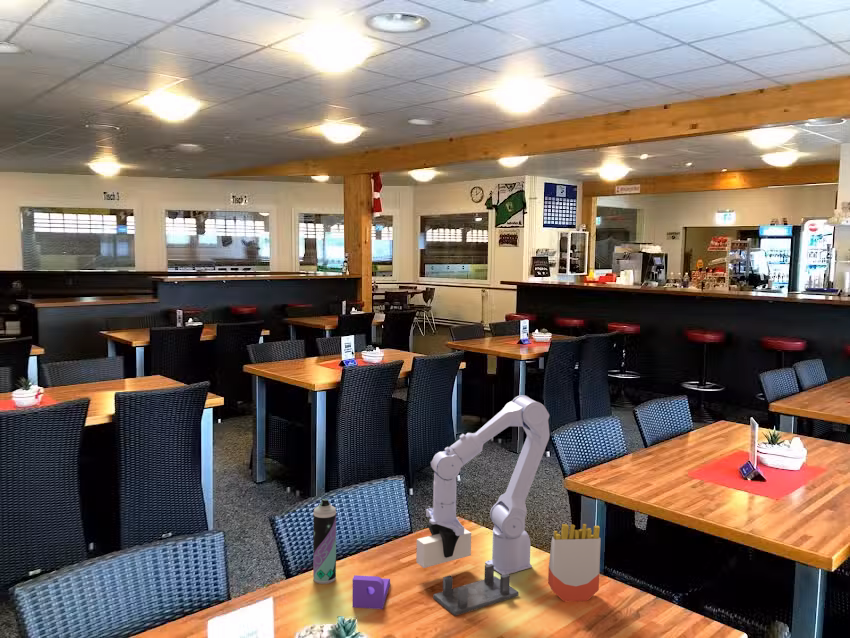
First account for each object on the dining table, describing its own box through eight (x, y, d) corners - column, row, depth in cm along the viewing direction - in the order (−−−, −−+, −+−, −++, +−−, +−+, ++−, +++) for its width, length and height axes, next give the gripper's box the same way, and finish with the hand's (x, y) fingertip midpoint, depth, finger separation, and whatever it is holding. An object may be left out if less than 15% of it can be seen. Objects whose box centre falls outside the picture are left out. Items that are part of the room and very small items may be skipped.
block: (462, 550, 173) (463, 527, 173) (470, 555, 170) (471, 532, 170) (416, 562, 166) (416, 539, 165) (423, 568, 163) (424, 544, 162)
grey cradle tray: (495, 580, 165) (495, 560, 164) (518, 595, 157) (519, 575, 157) (433, 598, 155) (433, 577, 155) (454, 616, 148) (455, 594, 147)
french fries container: (547, 592, 159) (549, 518, 158) (591, 590, 160) (594, 517, 159) (552, 601, 155) (555, 526, 153) (598, 600, 156) (601, 525, 154)
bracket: (382, 610, 150) (382, 581, 150) (352, 608, 151) (352, 579, 150) (390, 585, 162) (390, 557, 162) (362, 583, 163) (362, 556, 162)
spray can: (309, 581, 163) (309, 501, 161) (320, 571, 168) (320, 494, 166) (328, 585, 161) (328, 504, 159) (339, 575, 166) (340, 497, 164)
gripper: (416, 494, 171) (415, 546, 172) (447, 513, 158) (446, 568, 160) (439, 489, 174) (438, 540, 176) (471, 507, 162) (470, 561, 163)
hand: (444, 553), depth 168 cm, fingers closed on block, 3 cm apart
